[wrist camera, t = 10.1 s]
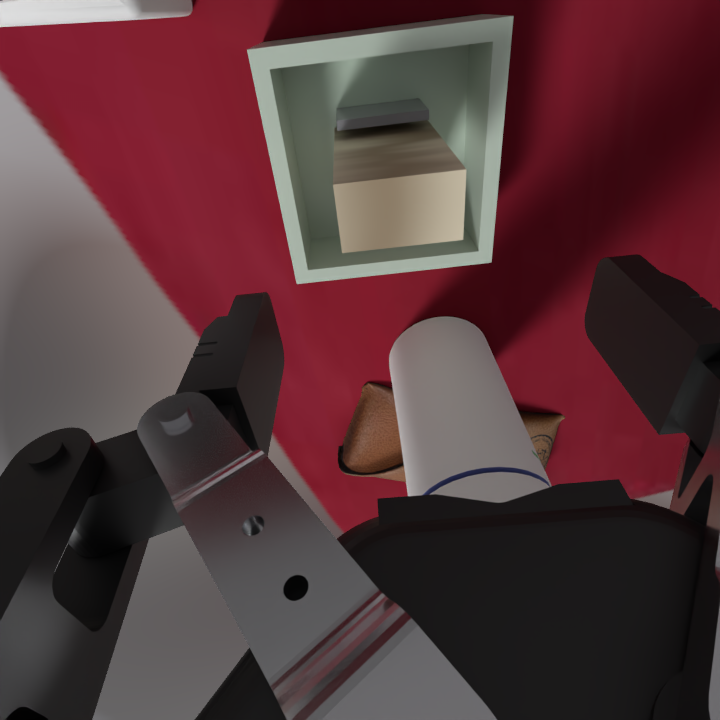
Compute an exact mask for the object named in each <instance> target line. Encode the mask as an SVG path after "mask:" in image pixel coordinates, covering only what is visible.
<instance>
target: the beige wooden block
mask: <svg viewBox="0 0 720 720" xmlns="http://www.w3.org/2000/svg"><path fill="white" fill-rule="evenodd" d="M466 170H467V169H466V168H465V167H464V165H463V164H462V163H461V162H460V160H459V159H458V158H457V157H456V155H455V154H454V153H453V151H452V150H451V149H450V148H449V146H448V145H447V144H446V143H445V141H444V140H443V139H442V138H441V136H440V135H439V134H438V132H437V131H436V130H435V129H434V127H433V126H432V125H431V124H430V122H429V121H428V120H424V121H415V122H407V123H399V124H390V125H382V126H374V127H365V128H357V129H349V130H341V131H337V127H335V128H334V164H333V189H334V196H335V204H336V211H337V219H338V226H339V234H340V241H341V249H342V253H349V252H358V251H367V250H376V249H385V248H394V247H403V246H412V245H421V244H431V243H440V242H449V241H458V240H463V234H464V213H465V191H466Z"/></svg>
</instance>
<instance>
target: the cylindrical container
mask: <svg viewBox="0 0 720 720" xmlns="http://www.w3.org/2000/svg"><path fill="white" fill-rule="evenodd" d="M389 367H390V373H391V380H392V387H393V393H394V400H395V407H396V413H397V420H398V427H399V434H400V441H401V448H402V455H403V462H404V469H405V476H406V484H407V491H408V496H419V495H431V494H438V495H445V496H452V497H459V498H466V499H473V500H480V501H488V502H495V503H501V502H507V501H510V500H513V499H516V498H519V497H522V496H525V495H528V494H531V493H534V492H537V491H540V490H543V489H546V488H549V487H552V486H551V484H550V481H549V479H548V477H547V475H546V473H545V470H544V468H543V466H542V464H541V461H540V459H539V457H538V455H537V452H536V450H535V448H534V446H533V443H532V441H531V439H530V437H529V434H528V432H527V430H526V428H525V425H524V423H523V421H522V419H521V416H520V414H519V412H518V410H517V408H516V405H515V403H514V401H513V399H512V396H511V394H510V392H509V390H508V387H507V385H506V383H505V381H504V378H503V376H502V374H501V372H500V369H499V367H498V365H497V363H496V360H495V358H494V356H493V354H492V351H491V349H490V347H489V345H488V343H487V340H486V338H485V336H484V334H483V333H482V332H481V330H480V329H479V328H478V327H476V326H475V325H474V324H472V323H470V322H469V321H467V320H464V319H460V318H457V317H448V316H445V317H434V318H430V319H426V320H423V321H421V322H419V323H416V324H414V325H413V326H411V327H410V328H408V329H407V330H405V331H404V332H403V333H402V334H401V335H400V336H399V337H398V339H397V340H396V341H395V343H394V345H393V347H392V349H391V352H390V356H389Z"/></svg>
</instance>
